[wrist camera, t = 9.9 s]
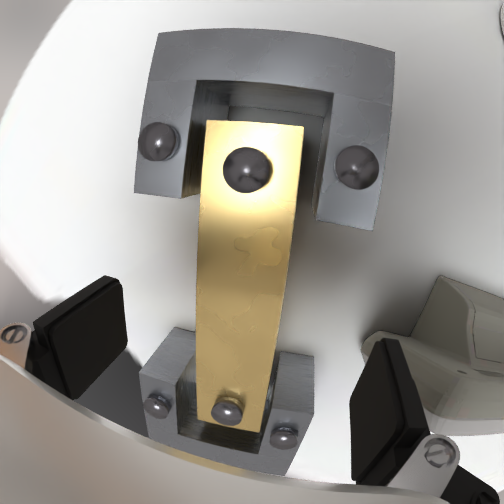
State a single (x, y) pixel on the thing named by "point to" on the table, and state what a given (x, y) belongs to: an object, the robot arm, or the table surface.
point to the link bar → (243, 264)
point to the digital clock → (456, 359)
